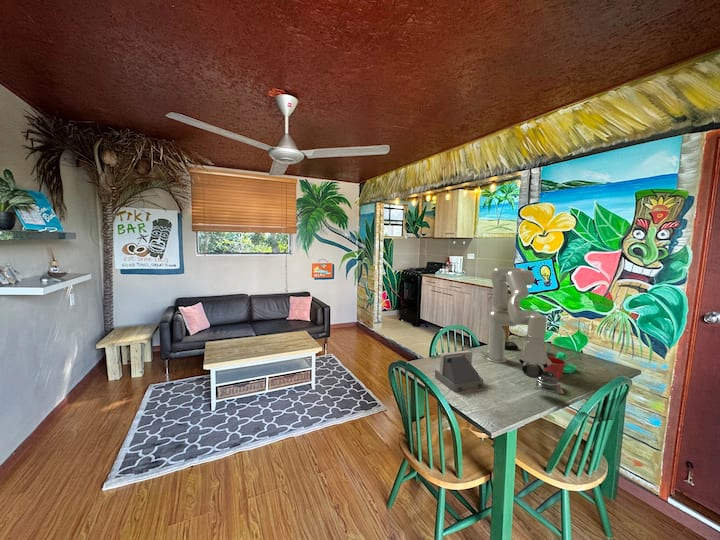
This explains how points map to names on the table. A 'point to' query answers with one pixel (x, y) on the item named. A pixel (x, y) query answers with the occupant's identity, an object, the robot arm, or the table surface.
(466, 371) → the grey sloped stand
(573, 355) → the table surface
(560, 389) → the lens barrel
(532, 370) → the dark grey cube
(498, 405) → the table surface
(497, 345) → the robot arm
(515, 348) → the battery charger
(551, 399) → the table surface
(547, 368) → the flower pot
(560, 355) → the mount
